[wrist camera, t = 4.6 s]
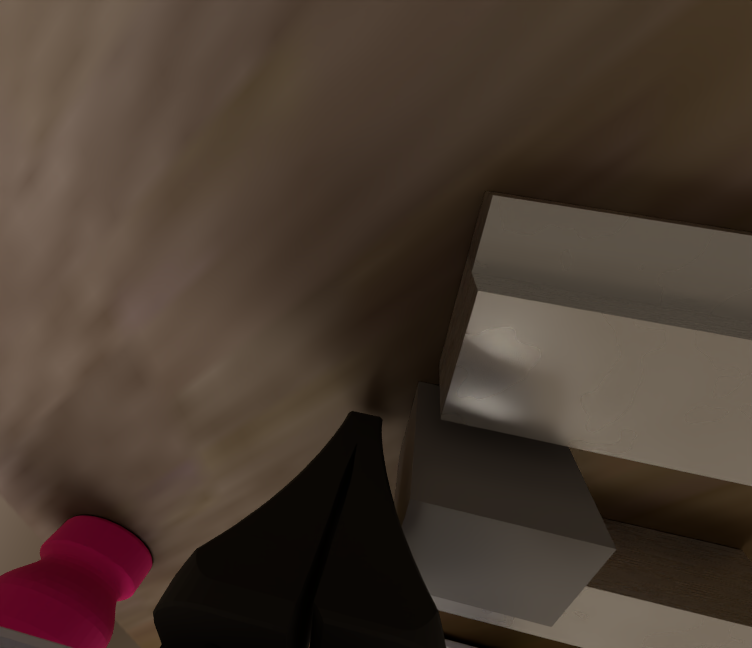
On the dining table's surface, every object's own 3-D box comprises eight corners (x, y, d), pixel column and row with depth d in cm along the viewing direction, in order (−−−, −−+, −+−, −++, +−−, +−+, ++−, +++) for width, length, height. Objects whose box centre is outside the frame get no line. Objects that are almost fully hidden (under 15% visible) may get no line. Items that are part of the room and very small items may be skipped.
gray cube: (517, 481, 14) (554, 628, 10) (399, 454, 15) (384, 582, 10) (553, 410, 12) (621, 550, 8) (418, 381, 13) (410, 498, 8)
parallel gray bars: (665, 619, 17) (710, 707, 14) (389, 550, 18) (381, 619, 15) (1040, 277, 8) (1320, 329, 6) (484, 190, 10) (504, 200, 7)
